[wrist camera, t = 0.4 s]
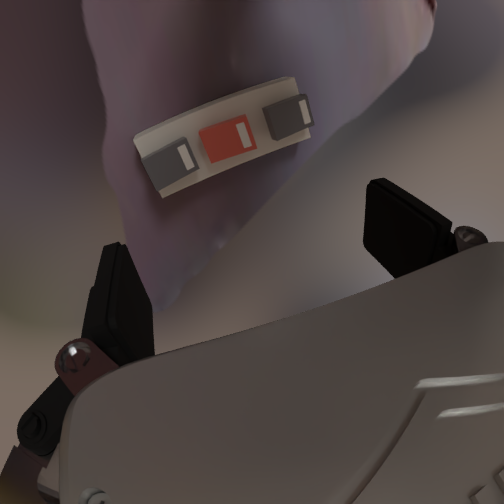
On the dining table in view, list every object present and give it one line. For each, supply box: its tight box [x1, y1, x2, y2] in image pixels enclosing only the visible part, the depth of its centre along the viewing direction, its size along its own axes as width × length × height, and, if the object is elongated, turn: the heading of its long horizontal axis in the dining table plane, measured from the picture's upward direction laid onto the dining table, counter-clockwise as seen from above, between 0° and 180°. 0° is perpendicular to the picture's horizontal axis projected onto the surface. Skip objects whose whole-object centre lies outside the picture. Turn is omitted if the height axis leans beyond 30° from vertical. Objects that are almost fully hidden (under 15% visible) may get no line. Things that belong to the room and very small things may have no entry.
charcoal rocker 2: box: [262, 94, 314, 141], centre depth 36 cm, size 4×6×2 cm
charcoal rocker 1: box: [140, 137, 200, 192], centre depth 35 cm, size 4×6×2 cm
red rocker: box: [198, 114, 257, 164], centre depth 35 cm, size 4×6×2 cm
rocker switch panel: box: [133, 77, 311, 198], centre depth 38 cm, size 9×22×4 cm, turn 108°
